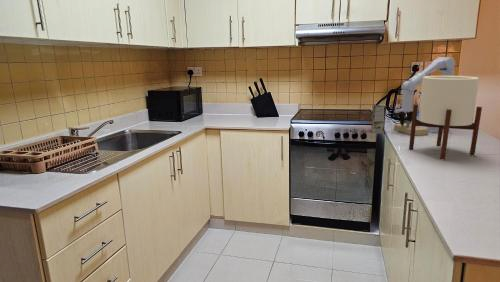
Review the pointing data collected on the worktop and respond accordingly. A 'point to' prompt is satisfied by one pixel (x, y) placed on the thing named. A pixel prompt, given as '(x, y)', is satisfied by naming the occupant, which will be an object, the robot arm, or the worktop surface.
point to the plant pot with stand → (447, 108)
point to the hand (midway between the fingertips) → (405, 124)
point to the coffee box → (378, 119)
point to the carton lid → (408, 126)
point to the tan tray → (408, 132)
